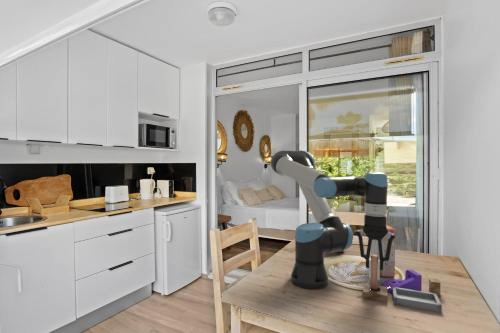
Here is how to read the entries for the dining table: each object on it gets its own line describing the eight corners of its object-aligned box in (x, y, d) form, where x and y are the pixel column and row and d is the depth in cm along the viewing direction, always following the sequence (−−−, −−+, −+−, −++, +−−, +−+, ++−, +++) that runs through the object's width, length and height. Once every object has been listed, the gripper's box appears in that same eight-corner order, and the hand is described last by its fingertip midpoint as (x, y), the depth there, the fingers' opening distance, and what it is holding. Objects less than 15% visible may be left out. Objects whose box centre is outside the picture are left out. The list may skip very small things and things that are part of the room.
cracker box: (395, 277, 121) (396, 229, 121) (381, 277, 122) (381, 228, 121) (383, 265, 135) (383, 222, 135) (370, 265, 136) (370, 221, 135)
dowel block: (363, 298, 103) (363, 291, 103) (363, 289, 110) (363, 282, 110) (387, 302, 100) (387, 295, 99) (386, 293, 107) (386, 286, 107)
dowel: (370, 288, 105) (370, 256, 104) (370, 285, 107) (370, 254, 107) (377, 289, 104) (378, 257, 103) (377, 286, 106) (378, 255, 106)
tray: (393, 303, 99) (394, 297, 99) (392, 293, 107) (392, 286, 107) (441, 312, 93) (441, 305, 93) (436, 300, 101) (436, 293, 101)
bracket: (410, 285, 114) (410, 268, 114) (421, 293, 108) (421, 275, 107) (381, 286, 114) (381, 269, 114) (390, 294, 107) (390, 276, 107)
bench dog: (430, 294, 105) (430, 281, 105) (428, 290, 109) (429, 277, 109) (440, 296, 104) (440, 282, 104) (438, 291, 108) (438, 278, 108)
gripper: (352, 214, 104) (351, 277, 105) (399, 218, 98) (397, 285, 99) (354, 211, 111) (353, 270, 112) (397, 214, 105) (396, 277, 106)
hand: (374, 277), depth 105 cm, fingers closed on dowel, 2 cm apart
